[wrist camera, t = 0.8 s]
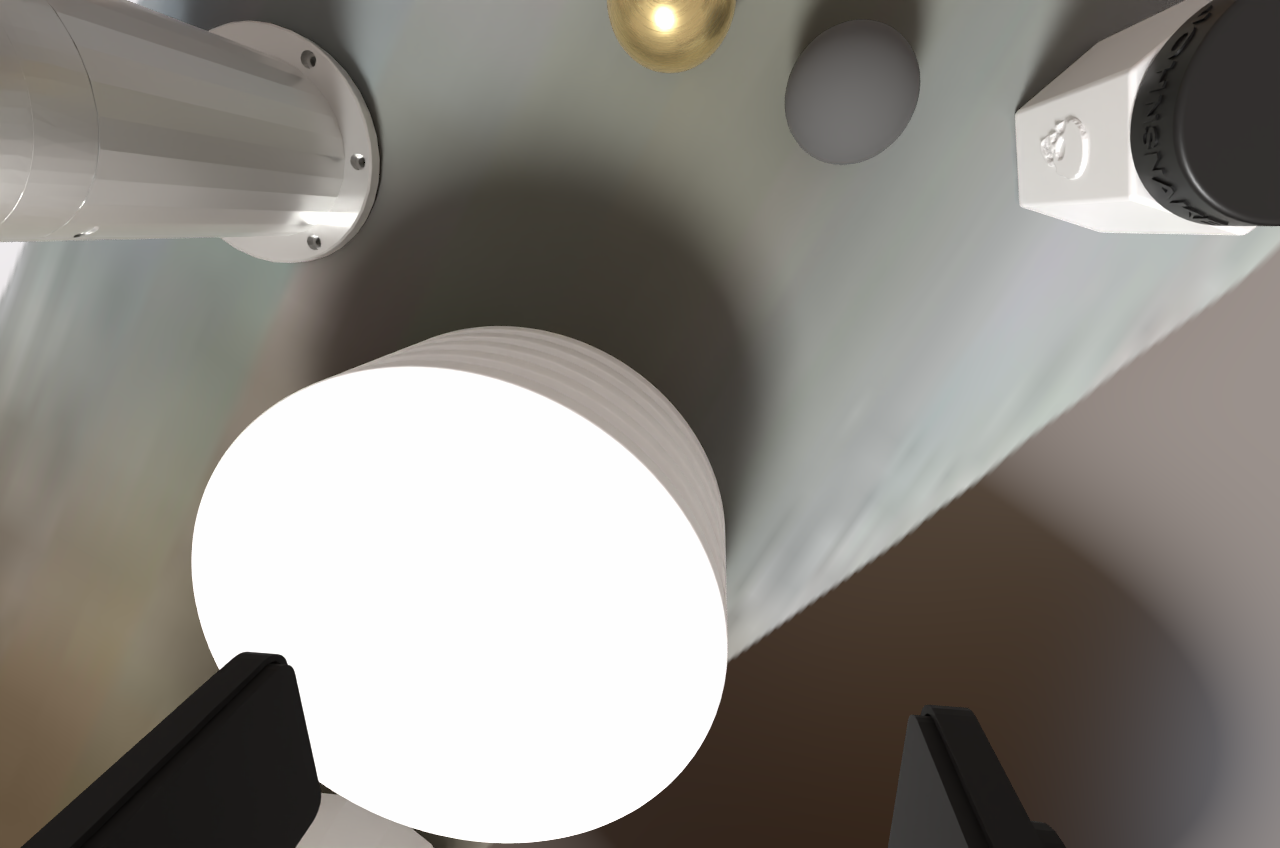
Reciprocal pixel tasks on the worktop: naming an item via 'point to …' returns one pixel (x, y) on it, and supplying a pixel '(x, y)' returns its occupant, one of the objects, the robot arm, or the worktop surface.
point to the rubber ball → (852, 92)
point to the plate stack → (478, 581)
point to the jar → (1162, 126)
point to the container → (356, 828)
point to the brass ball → (670, 30)
